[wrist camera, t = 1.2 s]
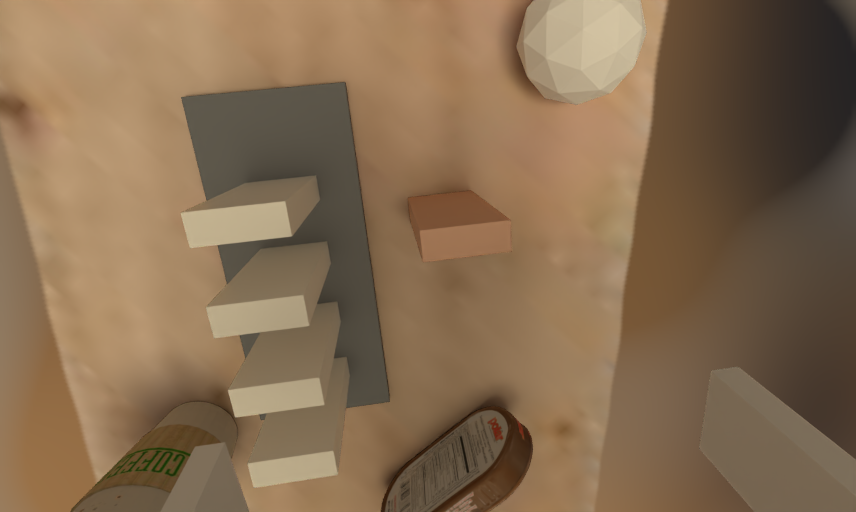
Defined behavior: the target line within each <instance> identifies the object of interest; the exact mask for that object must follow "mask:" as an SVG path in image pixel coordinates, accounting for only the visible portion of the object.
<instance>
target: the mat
mask: <svg viewBox="0 0 856 512" xmlns="http://www.w3.org/2000/svg"><path fill="white" fill-rule="evenodd" d="M181 99H182V103H183V107H184V111H185V115H186V119H187V123H188V127H189V131H190V135H191V139H192V143H193V147H194V151H195V155H196V160H197V164H198V168H199V172H200V176H201V180H202V184H203V188H204V192H205V196H206V200H209V199H212V198H214V197H216V196H218V195H220V194H223V193H225V192H227V191H229V190H231V189H233V188H236V187H238V186H240V185H242V184H244V183H249V182H258V181H267V180H277V179H286V178H296V177H305V176H315V175H316V178H317V184H318V190H319V196H320V201H319V202H318V203H317V204H316V206H315V207H314V208H313V210H312V211H311V212H310V214H309V215H308V216H307V218H306V219H305V220H304V221H303V223H302V224H301V225H300V227H299V228H298V229H297V231H296V232H295V233H294V235H293V236H292V237H283V238H274V239H266V240H257V241H248V242H240V243H231V244H222V245H218V249H219V253H220V257H221V261H222V265H223V269H224V273H225V277H226V281H227V284H228V283H229V282H230V281H231V280H232V279H233V278H234V277H235V276H236V274H237V273H238V272H239V271H240V270H241V269H242V268H243V267H244V266H245V265H246V264H247V263H248V262H249V261H250V260H251V258H252V257H253V256H254V255H255V254H256V253H257V252H258V251H259V250H260V249H264V248H273V247H282V246H290V245H299V244H307V243H316V242H324V241H327V243H328V249H329V255H330V261H331V265H330V267H329V270H328V273H327V276H326V279H325V282H324V285H323V288H322V291H321V293H320V296H319V299H318V302H317V304H321V303H329V302H337V303H338V309H339V315H340V321H341V323H340V328H339V333H338V338H337V343H336V349H335V354H334V358H341V357H347V362H348V368H349V374H350V378H349V386H348V395H347V403H346V408H350V407H357V406H364V405H371V404H378V403H384V402H390V398H389V390H388V382H387V375H386V368H385V361H384V354H383V347H382V340H381V332H380V325H379V318H378V311H377V304H376V297H375V289H374V282H373V275H372V268H371V261H370V254H369V247H368V239H367V232H366V225H365V218H364V211H363V204H362V197H361V189H360V182H359V175H358V168H357V161H356V154H355V147H354V139H353V132H352V125H351V118H350V111H349V104H348V96H347V89H346V83H345V82H342V83H331V84H320V85H309V86H298V87H287V88H276V89H265V90H255V91H244V92H233V93H222V94H211V95H200V96H189V97H181ZM260 333H261V332H259V333H251V334H244V335H240V338H241V342H242V346H243V350H244V354H245V358H246V357H247V355H248V354H249V352H250V350H251V348H252V347H253V345H254V343H255V341H256V340H257V338H258V336H259V334H260ZM266 414H267V413H264V414H259V415H260V419H261V420H264V419H265V417H266Z"/></svg>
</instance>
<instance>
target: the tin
mask: <svg viewBox="0 0 856 512" xmlns="http://www.w3.org/2000/svg"><path fill="white" fill-rule="evenodd" d="M532 453H533V444H532V438H531V435H530V433H529V431H528V429H527V428H526V427H525V426H524V425H522V424H521V423H519V421H518V420H517V419H516V418H515V417H514V416H513V415H512V414H511V413H510V412H508V411H507V410H506V409H503V408H501V407H494V406H493V407H486V408H483V409H480V410H478V411H476V412H474V413H472V414H471V415H469V416H468V417H466V418H465V419H464V420H463V421H461V422H460V423H459V424H457V425H456V426H455V427H453V428H452V429H451V430H449V431H448V432H447V433H446V434H444V435H443V436H442V437H440V438H439V439H438V440H436V441H435V442H434V443H432V444H431V445H430V446H429V447H427V448H426V449H425V450H423V451H422V452H421V453H419V454H418V455H417V456H416V457H414V458H413V459H412V460H410V461H409V462H408V463H407V464H406V465H405V466H404V467H403V468H402V469H401V470H400V471H399V473H398V474H397V475H396V476H395V478H394V479H393V481H392V482H391V484H390V486H389V487H388V489H387V491H386V493H385V496H384V498H383V502H382V508H381V512H489V511H491V510H492V509H494V508H495V507H496V506H498V505H499V504H501V503H502V502H503V501H504V500H506V499H507V498H508V497H509V496H510V495H511V494H512V493H513V492H514V491H515V490H516V488H517V487H518V486H519V485H520V483H521V482H522V480H523V478H524V476H525V475H526V472H527V470H528V468H529V465H530V462H531V458H532Z"/></svg>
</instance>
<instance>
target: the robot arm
mask: <svg viewBox="0 0 856 512" xmlns="http://www.w3.org/2000/svg"><path fill="white" fill-rule="evenodd" d="M699 449H700V450H701V451H702V452H703V453H704V454H705V456H706V457H707V458H708V459H709V460H710V461H711V463H712V464H713V465H714V466H715V467H716V468H717V469H718V471H720V473H721V474H722V475H723V476H724V477H725V479H726V480H727V481H728V482H729V483H730V484H731V485H732V487H733V488H734V489H735V490H736V491H737V492H738V493H739V495H740V496H741V497H742V498H743V499H744V500H745V501H746V503H747V504H748V505H749V506H750V507H751V508H752V509H753V511H754V512H856V460H855V459H854V458H853V457H852V456H850V455H849V454H848V453H846V452H845V451H844V450H843V449H841V448H840V447H839V446H837V445H836V444H835V443H834V442H832V441H831V440H830V439H829V438H827V437H826V436H825V435H824V434H822V433H821V432H820V431H819V430H817V429H816V428H815V427H813V426H812V425H811V424H810V423H808V422H807V421H806V420H805V419H803V418H802V417H801V416H799V415H798V414H797V413H796V412H794V411H793V410H792V409H791V408H789V407H788V406H787V405H786V404H784V403H783V402H782V401H781V400H779V399H778V398H777V397H775V396H774V395H773V394H772V393H770V392H769V391H768V390H767V389H765V388H764V387H763V386H762V385H760V384H759V383H757V381H755V380H754V379H752V378H751V377H750V376H749V375H748V374H746V373H745V372H744V371H743V370H741V369H740V368H739V367H734V368H727V369H721V370H713V371H711V375H710V382H709V388H708V395H707V401H706V408H705V414H704V421H703V427H702V434H701V440H700V447H699ZM161 512H249V510H248V507H247V504H246V501H245V498H244V495H243V492H242V489H241V487H240V484H239V481H238V478H237V475H236V472H235V469H234V467H233V464H232V461H231V458H230V455H229V452H228V449H227V446H226V444H225V442H223V443H217V444H210V445H203V446H196V447H195V448H194V450H193V451H192V453H191V455H190V457H189V459H188V461H187V463H186V465H185V467H184V468H183V470H182V472H181V474H180V476H179V478H178V480H177V482H176V483H175V485H174V487H173V489H172V491H171V493H170V495H169V497H168V498H167V500H166V502H165V504H164V506H163V508H162V510H161Z"/></svg>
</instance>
